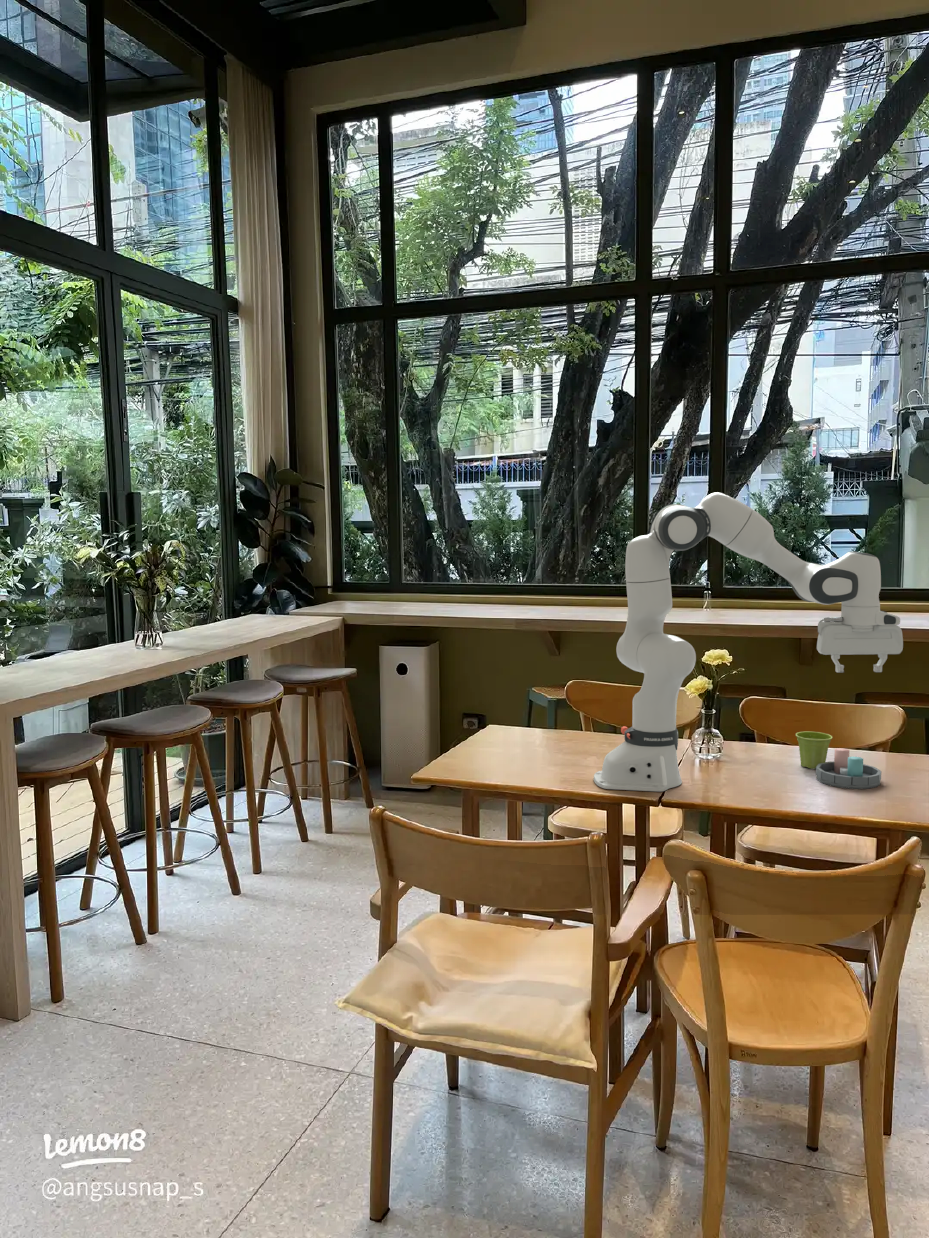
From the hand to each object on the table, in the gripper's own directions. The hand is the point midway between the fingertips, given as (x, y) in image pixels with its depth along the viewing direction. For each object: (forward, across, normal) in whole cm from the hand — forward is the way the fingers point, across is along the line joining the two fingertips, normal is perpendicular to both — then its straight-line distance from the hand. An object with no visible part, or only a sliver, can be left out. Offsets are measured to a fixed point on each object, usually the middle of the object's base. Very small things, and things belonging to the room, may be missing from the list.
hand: (858, 672), depth 228 cm
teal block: (+28, 0, 0) cm, 28 cm away
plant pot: (+29, -4, +18) cm, 35 cm away
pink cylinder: (+28, 0, +9) cm, 29 cm away
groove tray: (+29, 0, +4) cm, 29 cm away
